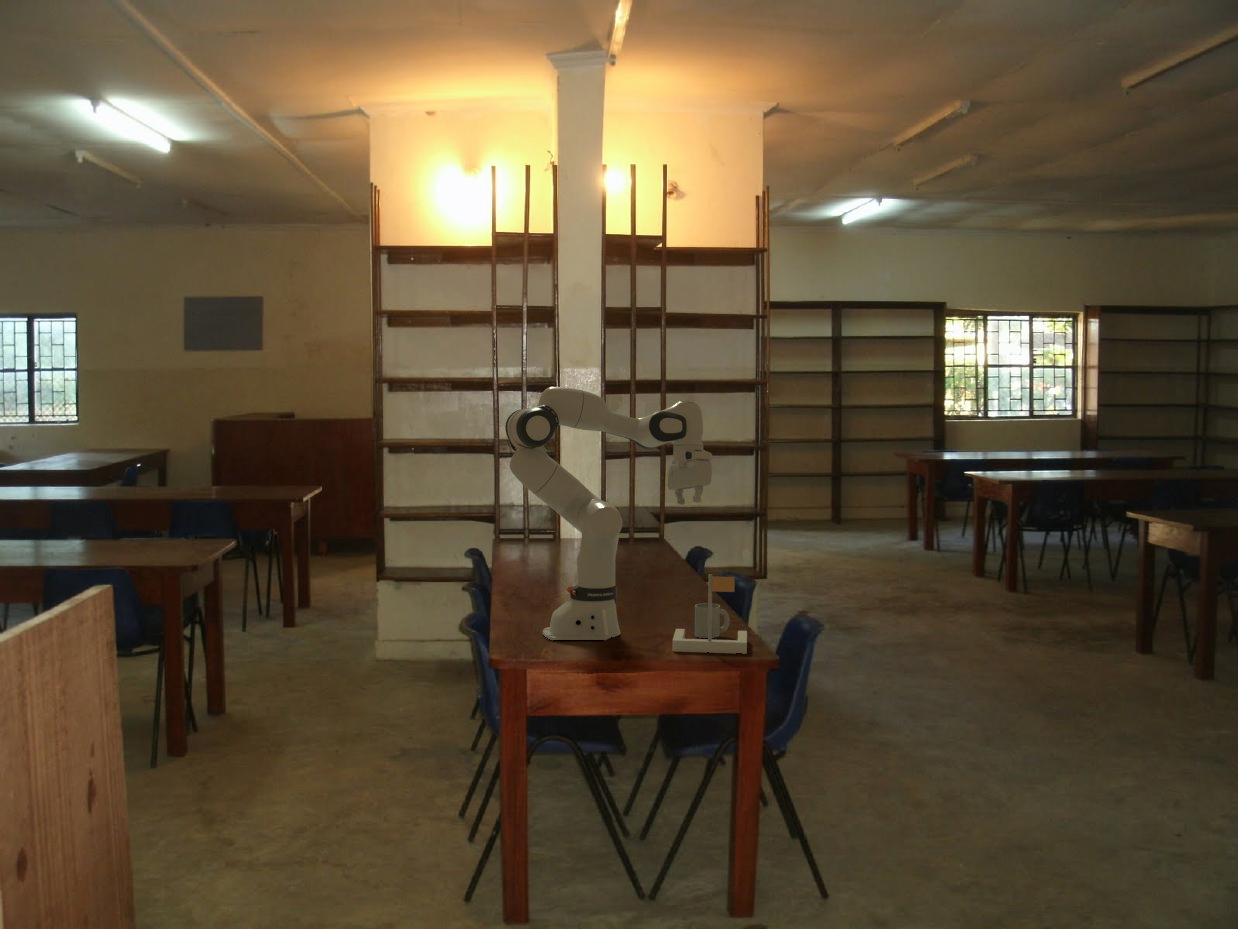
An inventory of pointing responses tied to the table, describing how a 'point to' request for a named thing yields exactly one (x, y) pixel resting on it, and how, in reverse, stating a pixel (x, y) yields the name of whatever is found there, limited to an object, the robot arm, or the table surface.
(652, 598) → the table surface
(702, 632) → the cup
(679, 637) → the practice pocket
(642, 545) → the table surface
